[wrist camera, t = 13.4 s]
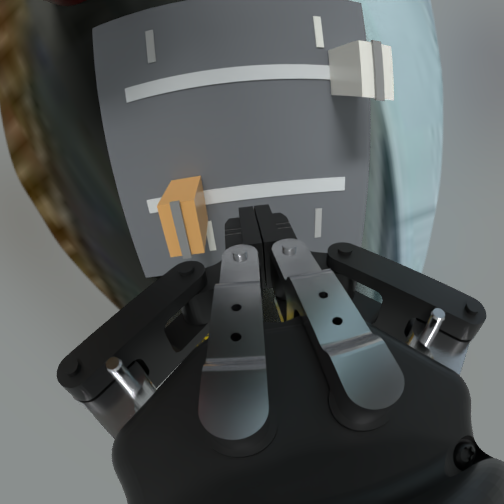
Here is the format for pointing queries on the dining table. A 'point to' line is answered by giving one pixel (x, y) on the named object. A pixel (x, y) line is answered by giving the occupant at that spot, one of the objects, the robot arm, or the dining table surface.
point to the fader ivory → (362, 70)
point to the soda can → (65, 2)
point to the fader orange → (184, 217)
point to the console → (234, 118)
